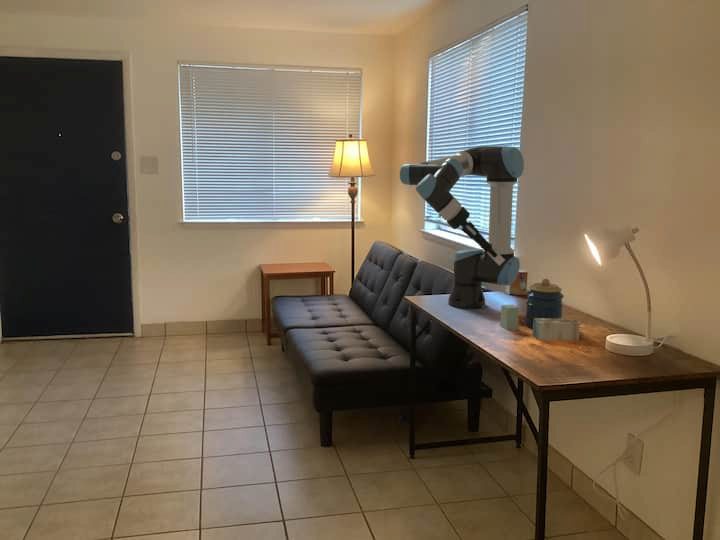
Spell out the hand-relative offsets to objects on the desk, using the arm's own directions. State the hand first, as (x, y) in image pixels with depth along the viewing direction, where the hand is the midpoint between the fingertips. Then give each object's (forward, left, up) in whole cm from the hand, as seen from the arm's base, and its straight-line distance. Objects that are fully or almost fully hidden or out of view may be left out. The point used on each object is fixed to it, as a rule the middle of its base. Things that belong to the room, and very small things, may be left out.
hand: (501, 262), depth 215 cm
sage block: (-9, +6, -25) cm, 28 cm away
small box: (-68, +23, -26) cm, 76 cm away
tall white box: (+3, +12, -23) cm, 26 cm away
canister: (-12, +19, -26) cm, 34 cm away
